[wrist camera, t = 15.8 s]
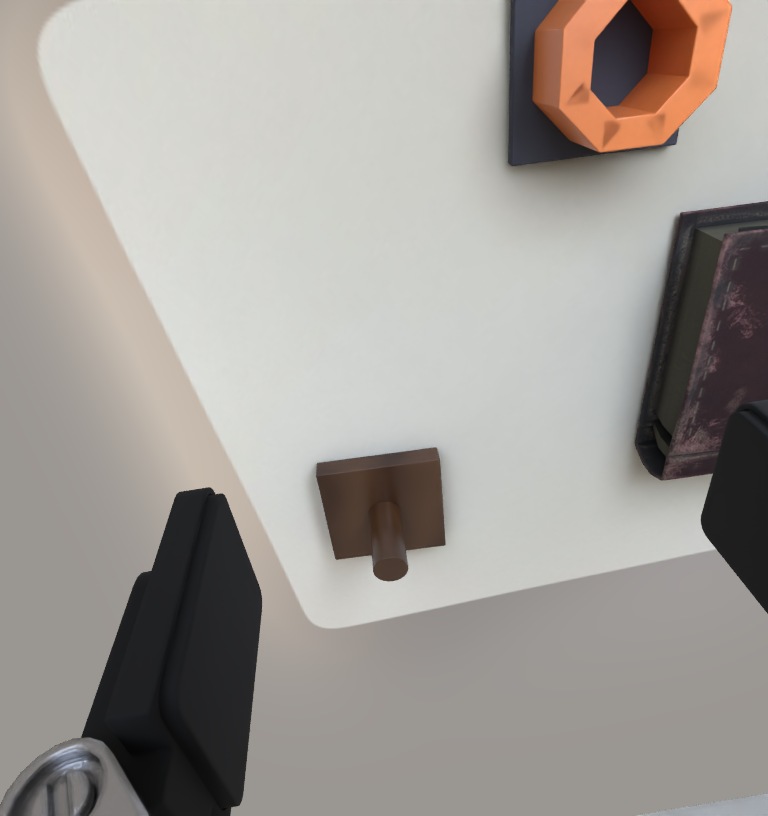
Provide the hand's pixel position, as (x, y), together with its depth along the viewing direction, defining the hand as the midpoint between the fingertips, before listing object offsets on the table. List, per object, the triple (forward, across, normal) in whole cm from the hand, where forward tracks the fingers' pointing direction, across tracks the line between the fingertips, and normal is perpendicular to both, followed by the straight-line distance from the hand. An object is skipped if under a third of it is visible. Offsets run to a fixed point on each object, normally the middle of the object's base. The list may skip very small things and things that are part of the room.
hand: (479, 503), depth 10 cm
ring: (+24, -12, -5) cm, 27 cm away
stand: (+25, +2, +22) cm, 33 cm away
